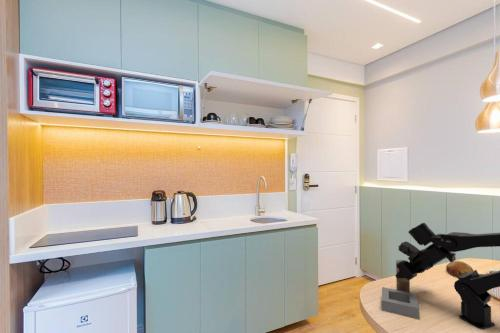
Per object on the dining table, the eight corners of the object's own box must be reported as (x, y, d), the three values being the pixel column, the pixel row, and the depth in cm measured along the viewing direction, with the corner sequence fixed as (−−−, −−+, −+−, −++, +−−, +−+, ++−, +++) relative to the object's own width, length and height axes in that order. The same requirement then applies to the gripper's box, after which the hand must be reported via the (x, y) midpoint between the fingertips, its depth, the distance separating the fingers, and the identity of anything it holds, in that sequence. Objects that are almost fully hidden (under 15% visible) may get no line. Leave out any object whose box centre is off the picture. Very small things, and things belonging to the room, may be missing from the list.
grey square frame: (415, 303, 91) (415, 293, 91) (419, 319, 81) (419, 308, 82) (382, 295, 96) (382, 286, 96) (381, 310, 87) (381, 300, 87)
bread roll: (472, 282, 115) (470, 264, 118) (478, 280, 107) (475, 261, 110) (445, 277, 120) (444, 260, 123) (449, 276, 112) (447, 257, 115)
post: (412, 295, 97) (412, 263, 97) (403, 297, 95) (403, 264, 96) (402, 289, 101) (402, 259, 101) (393, 291, 100) (393, 260, 100)
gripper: (423, 233, 100) (395, 252, 110) (401, 241, 90) (372, 262, 99) (447, 258, 94) (415, 276, 103) (426, 269, 83) (393, 289, 92)
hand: (399, 275), depth 99 cm, fingers closed on post, 4 cm apart
